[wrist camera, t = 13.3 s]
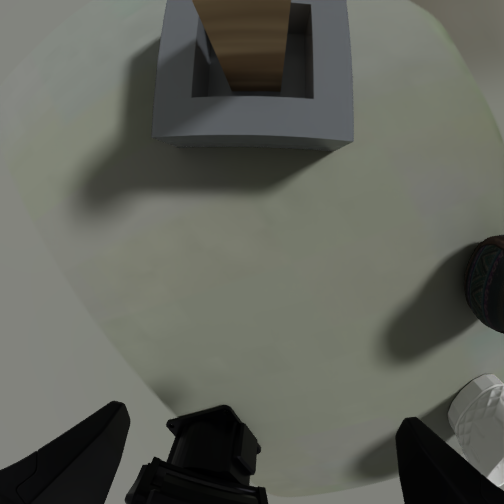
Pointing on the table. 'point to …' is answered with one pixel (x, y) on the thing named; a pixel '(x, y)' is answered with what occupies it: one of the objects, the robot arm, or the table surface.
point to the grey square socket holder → (257, 102)
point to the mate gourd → (487, 282)
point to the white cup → (481, 425)
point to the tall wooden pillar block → (248, 40)
